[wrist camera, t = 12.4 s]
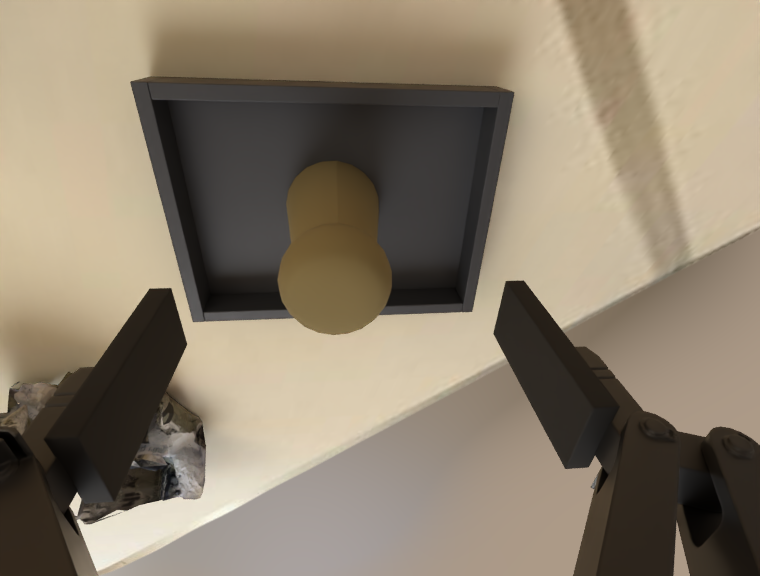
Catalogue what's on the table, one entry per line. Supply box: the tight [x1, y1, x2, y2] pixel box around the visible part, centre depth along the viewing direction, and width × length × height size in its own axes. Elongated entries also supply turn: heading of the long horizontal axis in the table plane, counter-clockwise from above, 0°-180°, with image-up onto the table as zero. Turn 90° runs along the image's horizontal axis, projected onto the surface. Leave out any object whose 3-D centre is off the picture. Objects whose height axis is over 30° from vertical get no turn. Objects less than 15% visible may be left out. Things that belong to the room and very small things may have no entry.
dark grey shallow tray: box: [130, 77, 514, 322], centre depth 26 cm, size 20×15×3 cm
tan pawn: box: [277, 161, 392, 335], centre depth 22 cm, size 6×6×11 cm
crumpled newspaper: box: [0, 372, 206, 524], centre depth 32 cm, size 12×11×15 cm
